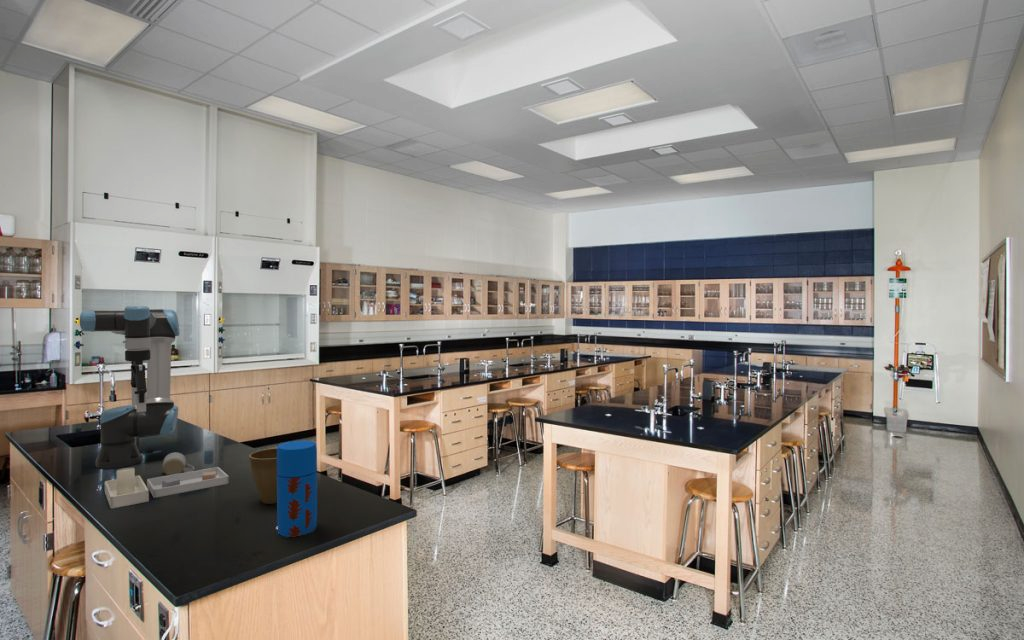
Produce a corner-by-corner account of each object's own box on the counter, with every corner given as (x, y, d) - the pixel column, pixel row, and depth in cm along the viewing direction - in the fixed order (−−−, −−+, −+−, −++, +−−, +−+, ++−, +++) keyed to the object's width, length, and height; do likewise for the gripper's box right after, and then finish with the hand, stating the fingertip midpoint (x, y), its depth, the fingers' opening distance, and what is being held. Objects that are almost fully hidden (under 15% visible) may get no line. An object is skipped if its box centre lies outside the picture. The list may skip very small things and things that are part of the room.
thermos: (284, 523, 165) (284, 440, 164) (321, 522, 166) (320, 440, 165) (271, 538, 154) (271, 450, 153) (310, 537, 155) (310, 449, 154)
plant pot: (305, 500, 185) (305, 452, 184) (260, 511, 174) (259, 461, 174) (287, 489, 195) (286, 444, 195) (243, 499, 184) (242, 452, 184)
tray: (146, 487, 197) (146, 479, 197) (218, 474, 212) (218, 466, 212) (153, 498, 185) (153, 489, 185) (228, 484, 200) (228, 476, 200)
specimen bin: (104, 492, 191) (104, 481, 191) (139, 486, 198) (139, 475, 198) (110, 509, 175) (110, 497, 175) (148, 502, 182) (148, 490, 182)
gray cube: (162, 491, 191) (162, 480, 191) (174, 488, 194) (174, 477, 194) (167, 494, 189) (167, 482, 189) (179, 491, 192) (179, 479, 192)
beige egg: (133, 492, 190) (133, 466, 190) (135, 496, 186) (135, 470, 186) (116, 495, 187) (115, 469, 186) (117, 499, 183) (117, 472, 183)
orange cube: (204, 483, 201) (203, 472, 200) (216, 482, 202) (216, 471, 202) (202, 486, 197) (202, 475, 197) (214, 485, 198) (214, 474, 198)
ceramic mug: (162, 478, 207) (162, 458, 207) (163, 472, 214) (163, 453, 214) (194, 474, 212) (194, 455, 212) (194, 469, 219) (194, 450, 219)
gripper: (121, 346, 202) (122, 403, 203) (129, 353, 183) (130, 416, 184) (145, 345, 207) (146, 401, 208) (155, 352, 188) (156, 413, 189)
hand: (138, 408), depth 196 cm, fingers open, 13 cm apart
